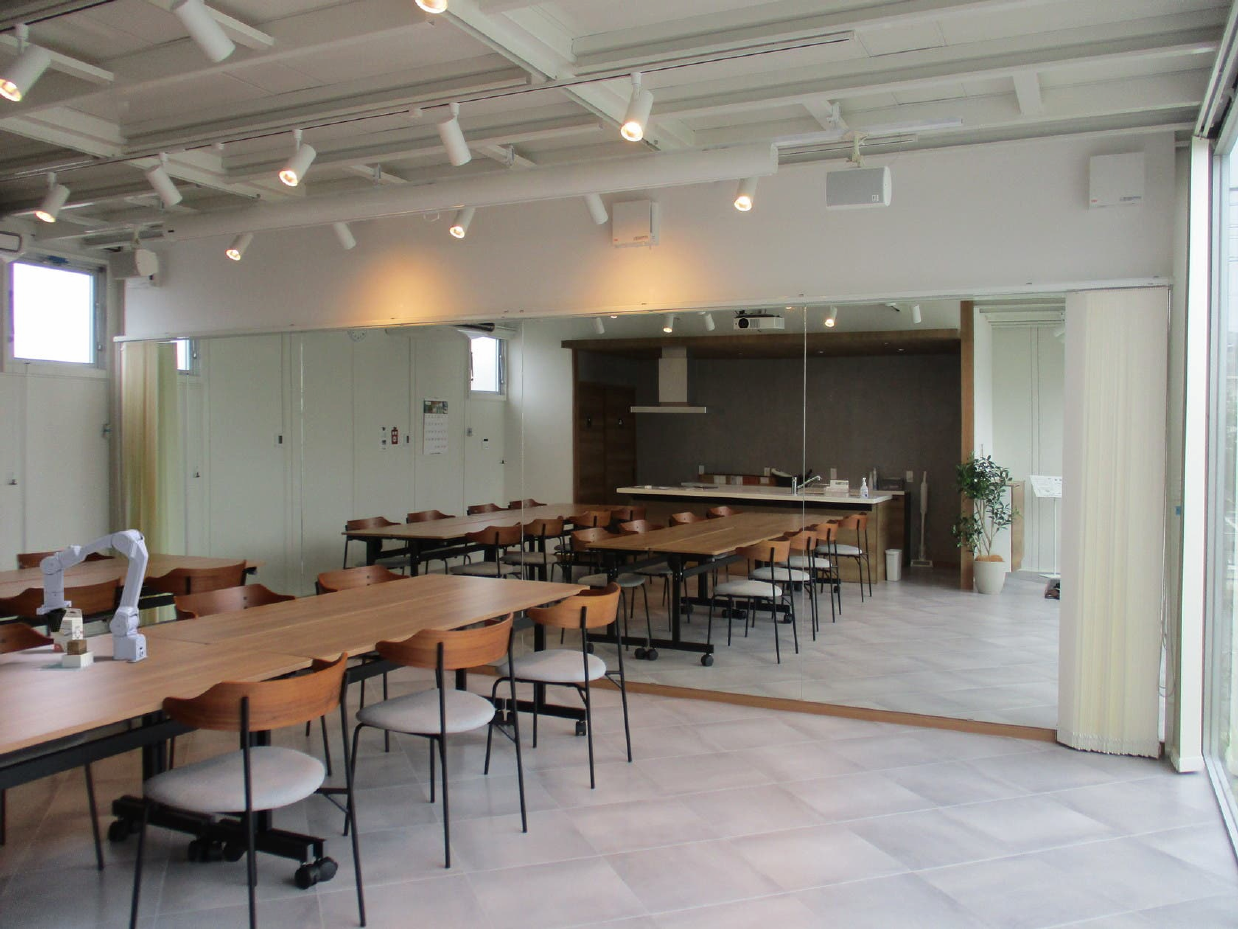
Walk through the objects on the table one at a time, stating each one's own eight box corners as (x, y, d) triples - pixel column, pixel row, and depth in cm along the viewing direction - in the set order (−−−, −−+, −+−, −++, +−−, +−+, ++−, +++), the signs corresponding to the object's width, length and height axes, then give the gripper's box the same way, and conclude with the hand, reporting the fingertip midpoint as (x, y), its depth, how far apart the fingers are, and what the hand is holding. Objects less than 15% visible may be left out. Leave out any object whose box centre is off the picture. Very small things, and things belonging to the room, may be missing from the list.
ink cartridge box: (53, 651, 331) (51, 610, 331) (64, 648, 336) (63, 607, 336) (72, 652, 329) (71, 611, 329) (84, 649, 334) (82, 608, 333)
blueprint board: (97, 665, 309) (97, 651, 309) (76, 673, 298) (75, 658, 298) (57, 665, 310) (57, 650, 310) (34, 673, 299) (34, 658, 299)
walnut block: (87, 654, 308) (86, 639, 308) (79, 657, 304) (78, 642, 304) (75, 654, 308) (75, 639, 308) (67, 657, 304) (66, 642, 304)
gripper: (57, 588, 321) (58, 627, 321) (27, 595, 306) (28, 636, 307) (76, 588, 320) (77, 627, 321) (47, 595, 306) (49, 636, 306)
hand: (55, 632), depth 314 cm, fingers closed
